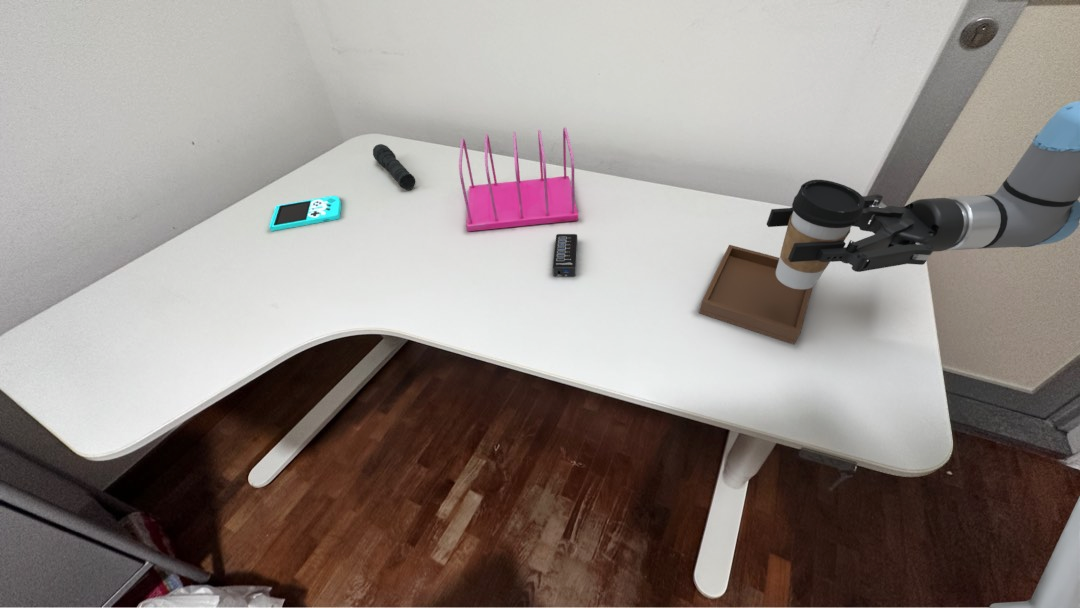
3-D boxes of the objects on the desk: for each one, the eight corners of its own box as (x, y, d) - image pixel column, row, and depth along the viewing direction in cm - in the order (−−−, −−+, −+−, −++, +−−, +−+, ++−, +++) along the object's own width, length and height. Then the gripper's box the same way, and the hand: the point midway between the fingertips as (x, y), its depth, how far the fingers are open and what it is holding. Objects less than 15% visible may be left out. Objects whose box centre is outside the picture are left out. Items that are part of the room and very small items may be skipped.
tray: (794, 344, 74) (800, 332, 72) (698, 313, 80) (701, 301, 78) (811, 280, 84) (817, 267, 82) (725, 256, 91) (729, 244, 89)
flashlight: (392, 157, 130) (386, 141, 127) (419, 187, 118) (414, 169, 114) (375, 163, 129) (369, 146, 125) (401, 194, 116) (395, 176, 112)
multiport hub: (577, 242, 97) (577, 233, 95) (575, 276, 89) (575, 267, 88) (556, 242, 98) (556, 233, 96) (553, 276, 90) (552, 267, 88)
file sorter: (578, 221, 102) (577, 156, 91) (467, 232, 102) (453, 168, 91) (569, 181, 115) (567, 120, 104) (470, 191, 114) (458, 131, 103)
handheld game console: (339, 219, 109) (337, 214, 108) (270, 232, 108) (267, 227, 107) (342, 198, 116) (340, 193, 115) (277, 209, 115) (274, 204, 114)
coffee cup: (775, 253, 76) (807, 171, 65) (831, 270, 72) (875, 186, 61) (759, 282, 71) (790, 199, 60) (818, 303, 67) (862, 218, 57)
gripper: (977, 293, 60) (801, 303, 61) (891, 206, 75) (749, 216, 75) (1015, 248, 55) (822, 260, 56) (914, 164, 69) (762, 175, 70)
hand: (780, 234), depth 66 cm, fingers closed on coffee cup, 8 cm apart
